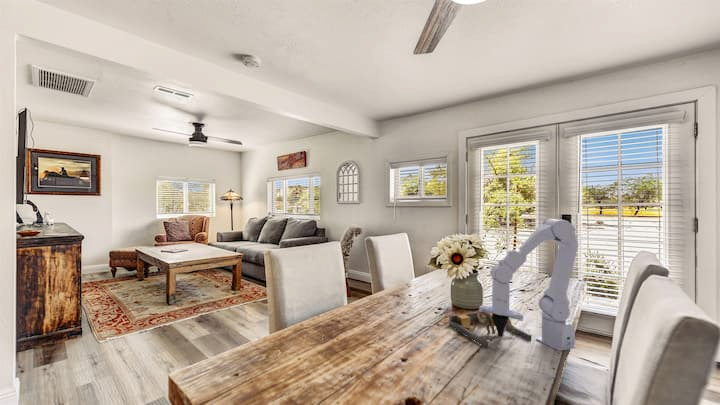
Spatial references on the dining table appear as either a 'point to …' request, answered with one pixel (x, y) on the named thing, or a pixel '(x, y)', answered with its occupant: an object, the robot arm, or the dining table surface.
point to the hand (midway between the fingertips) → (500, 335)
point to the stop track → (466, 318)
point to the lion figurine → (491, 322)
